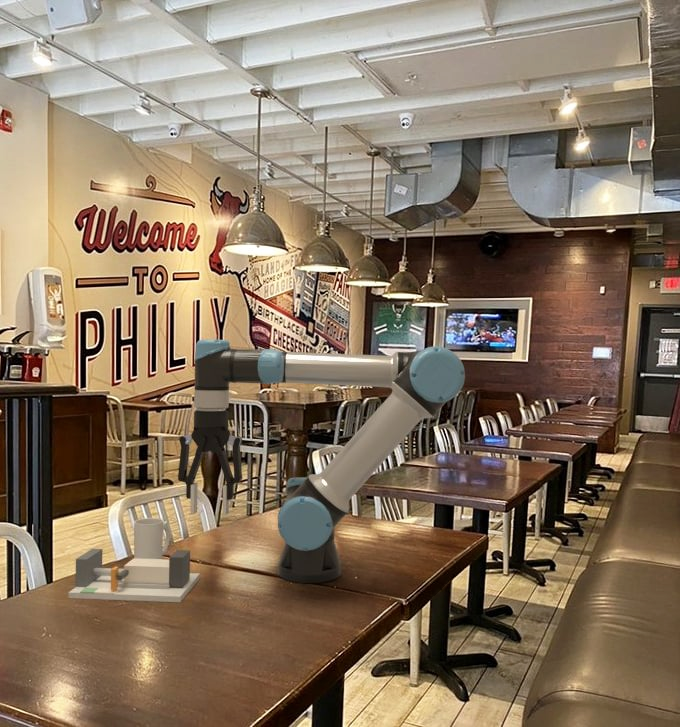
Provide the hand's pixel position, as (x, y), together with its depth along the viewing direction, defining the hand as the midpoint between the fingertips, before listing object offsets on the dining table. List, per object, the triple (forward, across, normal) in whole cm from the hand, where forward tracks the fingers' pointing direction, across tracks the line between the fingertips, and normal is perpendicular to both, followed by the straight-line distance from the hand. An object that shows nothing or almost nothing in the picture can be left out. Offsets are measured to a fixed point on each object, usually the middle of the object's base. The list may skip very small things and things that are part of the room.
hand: (209, 513), depth 141 cm
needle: (+15, +19, +6) cm, 25 cm away
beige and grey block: (+15, +11, +2) cm, 19 cm away
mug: (+17, +17, -13) cm, 27 cm away
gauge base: (+17, +16, 0) cm, 23 cm away
